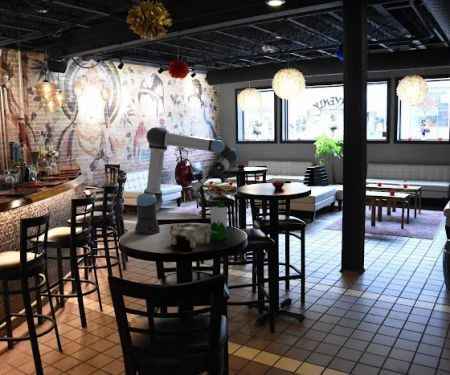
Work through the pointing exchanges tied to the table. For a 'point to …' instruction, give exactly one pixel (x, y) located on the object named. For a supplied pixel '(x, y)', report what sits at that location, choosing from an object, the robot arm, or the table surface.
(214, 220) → the milk carton
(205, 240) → the stool
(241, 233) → the table surface
